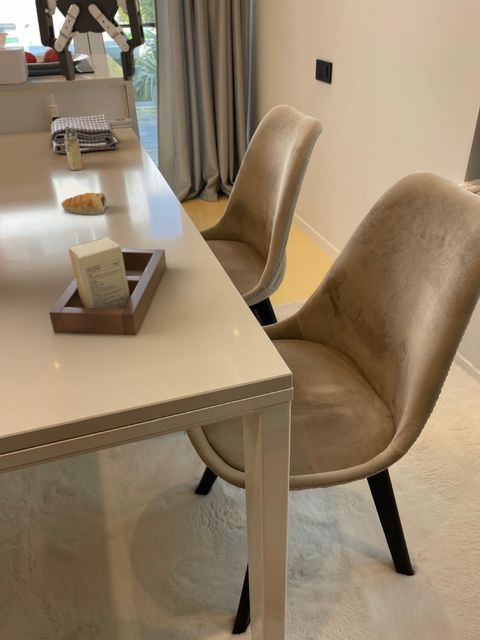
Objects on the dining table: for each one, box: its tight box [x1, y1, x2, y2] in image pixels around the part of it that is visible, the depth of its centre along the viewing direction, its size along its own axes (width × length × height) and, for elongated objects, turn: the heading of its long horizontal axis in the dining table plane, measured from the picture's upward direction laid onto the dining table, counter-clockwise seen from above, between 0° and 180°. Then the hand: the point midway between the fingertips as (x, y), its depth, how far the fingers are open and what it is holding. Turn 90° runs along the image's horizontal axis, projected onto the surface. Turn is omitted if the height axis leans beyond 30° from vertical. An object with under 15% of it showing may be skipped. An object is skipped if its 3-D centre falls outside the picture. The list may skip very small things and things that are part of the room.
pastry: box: [61, 191, 109, 216], centre depth 122 cm, size 9×7×4 cm
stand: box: [48, 248, 167, 336], centre depth 86 cm, size 12×22×5 cm, turn 177°
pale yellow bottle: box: [64, 126, 84, 171], centre depth 148 cm, size 7×4×10 cm, turn 15°
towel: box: [50, 113, 119, 155], centre depth 166 cm, size 15×18×8 cm
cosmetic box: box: [68, 236, 130, 309], centre depth 80 cm, size 6×4×12 cm
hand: (99, 80), depth 82 cm, fingers open, 8 cm apart
